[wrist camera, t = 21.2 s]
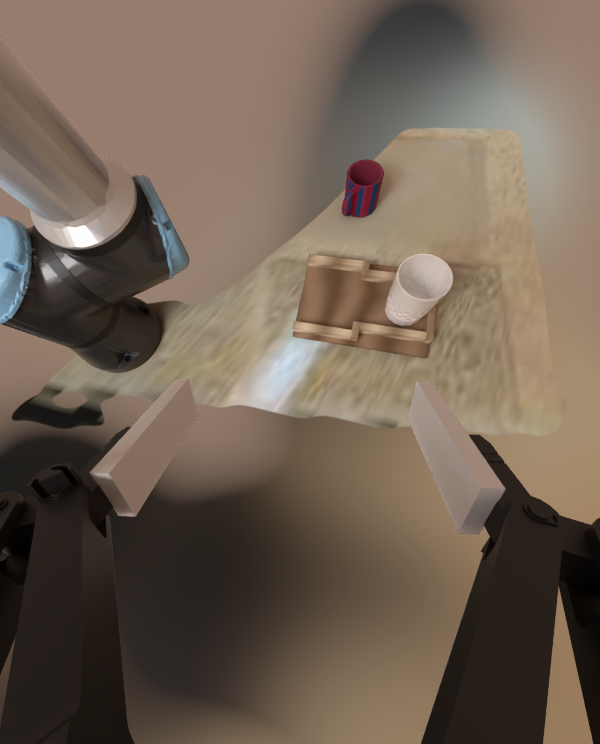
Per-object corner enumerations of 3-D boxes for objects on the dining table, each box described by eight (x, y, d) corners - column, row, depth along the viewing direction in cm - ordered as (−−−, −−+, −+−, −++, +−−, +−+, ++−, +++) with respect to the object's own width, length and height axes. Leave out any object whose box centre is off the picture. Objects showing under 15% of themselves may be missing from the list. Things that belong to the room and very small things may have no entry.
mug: (382, 203, 54) (391, 170, 48) (351, 233, 53) (355, 204, 46) (358, 187, 56) (363, 154, 49) (327, 216, 55) (328, 186, 48)
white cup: (375, 321, 47) (389, 290, 37) (389, 285, 48) (406, 247, 39) (418, 335, 46) (445, 307, 36) (431, 298, 47) (459, 262, 38)
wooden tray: (293, 336, 48) (291, 331, 46) (310, 259, 52) (309, 250, 50) (425, 358, 45) (432, 353, 43) (433, 275, 49) (439, 266, 47)
